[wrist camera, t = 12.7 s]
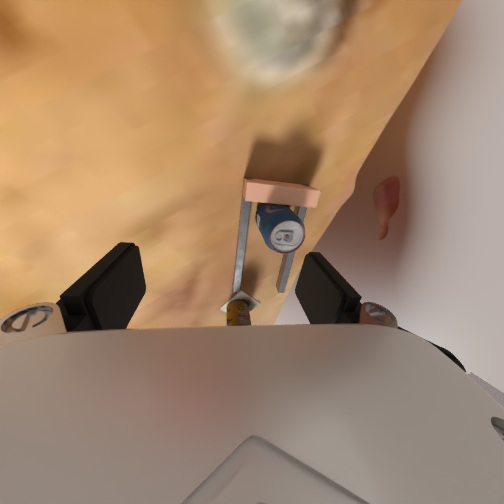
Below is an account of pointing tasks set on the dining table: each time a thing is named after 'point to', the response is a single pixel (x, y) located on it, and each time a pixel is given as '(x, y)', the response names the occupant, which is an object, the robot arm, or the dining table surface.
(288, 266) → the guide channel
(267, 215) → the soda can
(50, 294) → the dining table surface
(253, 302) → the condiment
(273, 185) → the stop block
